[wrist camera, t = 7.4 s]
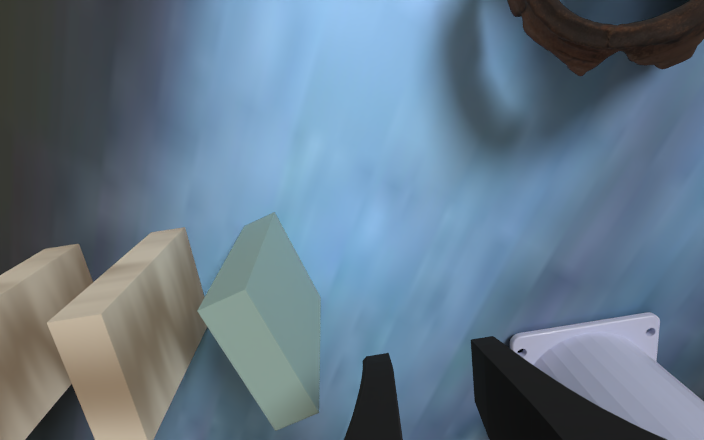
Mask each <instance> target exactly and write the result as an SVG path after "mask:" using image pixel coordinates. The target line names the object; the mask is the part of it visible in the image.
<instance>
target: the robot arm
mask: <svg viewBox="0 0 704 440" xmlns="http://www.w3.org/2000/svg"><path fill="white" fill-rule="evenodd" d="M659 327H660V319H659V318H658V317H657V316H656V315H654V314H653V313H641V314H635V315H629V316H623V317H616V318H610V319H604V320H598V321H592V322H585V323H579V324H573V325H567V326H561V327H554V328H548V329H542V330H536V331H529V332H523V333H518V334H515V335H514V336H513V337H512V338H511V339H510V348H509V347H507V346H506V345H505V344H503V343H502V342H500V341H499V340H498V339H496V338H495V337H493V336H491V337H485V338H478V339H472V340H471V350H472V366H473V381H474V397H475V403H476V406H477V408H478V411H479V414H480V416H481V419H482V422H483V424H484V427H485V429H486V432H487V435H488V437H489V439H490V440H704V401H702V400H701V399H700V398H699V397H698V396H696V395H695V394H694V393H693V392H692V391H690V390H689V389H688V388H687V387H686V386H684V385H683V384H682V383H681V382H680V381H678V380H677V379H676V378H675V377H674V376H672V375H671V374H670V373H669V372H668V371H666V370H665V369H664V368H663V367H662V366H660V365H659V364H658V363H657V362H656V359H657V348H658V337H659ZM649 328H650V329H649ZM648 329H649V331H647V330H648ZM646 331H647V332H646ZM520 349H523V351H522V352H520V353H517V352H518V351H519V350H520ZM344 440H403V439H402V431H401V424H400V416H399V409H398V401H397V394H396V386H395V379H394V371H393V366H392V363H391V360H390V356H389V353H385V354H379V355H373V356H367V357H366V358H365V359H364V360H363V371H362V379H361V384H360V389H359V394H358V397H357V401H356V405H355V409H354V412H353V416H352V419H351V422H350V424H349V427H348V430H347V433H346V436H345V439H344Z"/></svg>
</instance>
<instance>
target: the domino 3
mask: <svg viewBox="0 0 704 440" xmlns="http://www.w3.org/2000/svg"><path fill="white" fill-rule="evenodd" d="M320 307H321V297H320V295H319V293H318V292H317V290H316V288H315V286H314V284H313V282H312V280H311V279H310V277H309V275H308V273H307V271H306V269H305V267H304V266H303V264H302V262H301V260H300V258H299V256H298V254H297V253H296V251H295V249H294V247H293V245H292V243H291V241H290V240H289V238H288V236H287V234H286V232H285V230H284V228H283V227H282V225H281V223H280V221H279V219H278V217H277V215H276V214H275V212H274V213H272V214H269V215H267V216H265V217H263V218H261V219H258V220H256V221H254V222H252V223H250V224H248V225H245V226H244V228H243V229H242V231H241V233H240V235H239V237H238V238H237V240H236V242H235V244H234V246H233V247H232V249H231V251H230V253H229V255H228V256H227V258H226V260H225V262H224V264H223V265H222V267H221V269H220V271H219V273H218V274H217V276H216V278H215V280H214V282H213V283H212V285H211V287H210V289H209V291H208V292H207V294H206V296H205V298H204V300H203V301H202V303H201V305H200V307H199V309H198V310H197V311H198V313H199V315H200V316H201V318H202V319H203V321H204V322H205V324H206V325H207V327H208V328H209V330H210V331H211V333H212V334H213V336H214V337H215V339H216V341H217V342H218V344H219V345H220V347H221V348H222V350H223V351H224V353H225V354H226V356H227V357H228V359H229V360H230V362H231V363H232V365H233V367H234V368H235V370H236V371H237V373H238V374H239V376H240V377H241V379H242V380H243V382H244V383H245V385H246V386H247V388H248V390H249V391H250V393H251V394H252V396H253V397H254V399H255V400H256V402H257V403H258V405H259V406H260V408H261V409H262V411H263V412H264V414H265V416H266V417H267V419H268V420H269V422H270V423H271V425H272V426H273V428H274V429H275V431H276V430H279V429H281V428H284V427H286V426H288V425H291V424H293V423H295V422H298V421H300V420H303V419H305V418H307V417H310V416H312V415H315V414H317V413H319V380H320Z"/></svg>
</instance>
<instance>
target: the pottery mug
mask: <svg viewBox="0 0 704 440" xmlns="http://www.w3.org/2000/svg"><path fill="white" fill-rule="evenodd" d="M507 1H508V4H509V7H510V10H511V12H512V14H513V15H514V16H515V17H521V16H522V19H523V29H524V31H525V33H526V34H527V35H528V36H530V37H531V38H532V39H533V40H534V41H535V42H536V43H538V44H539V45H541V46H542V47H544V48H545V49H546V50H548V51H550V52H551V53H553V54H554V55H555V56H556V57H557V58H558V59H560V60H561V61H562V62H563V63H565V64H566V65H567V67H568V68H569V69H570V70H571V71H573V72H574V73H575V74H577V75H578V76H583V75H584V74H585V73H586V72H588V71H590V70H591V69H593V68H595V67H596V66H598V65H599V64H600V63H601V62H603V61H604V60H605V59H607V58H608V57H609V56H611V55H613V54H614V53H616V52H618V51H623V52H625V54H626V55H627V57H628V59H629V60H630V61H632V62H635V63H637V64H638V65H655V66H656V67H658V68H659V69H666V68H669V67H671V66H674V65H676V64H679V63H681V62H683V61H685V60H687V59H689V58H691V57H692V55H693V54H694V52H695V50H696V48H697V46H698V45H699V44H700V43H701V41H702V40H703V39H704V0H690V1H688V2H687V3H685V4H683V5H681V6H680V7H678V8H676V9H674V10H671V11H669V12H667V13H664V14H662V15H659V16H657V17H654V18H652V19H648V20H644V21H640V22H634V23H629V24H620V25H612V24H602V23H598V22H593V21H591V20H588V19H585V18H582V17H580V16H578V15H576V14H574V13H573V12H571V11H570V10H569V9H568V8H566V7H565V6H564V5H563V4H562V3H561V2H560V1H559V0H507Z"/></svg>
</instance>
